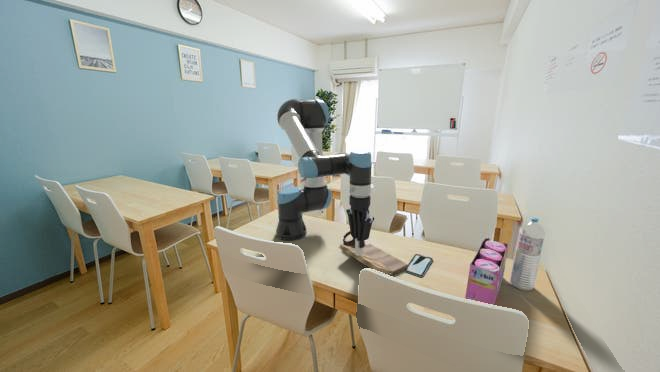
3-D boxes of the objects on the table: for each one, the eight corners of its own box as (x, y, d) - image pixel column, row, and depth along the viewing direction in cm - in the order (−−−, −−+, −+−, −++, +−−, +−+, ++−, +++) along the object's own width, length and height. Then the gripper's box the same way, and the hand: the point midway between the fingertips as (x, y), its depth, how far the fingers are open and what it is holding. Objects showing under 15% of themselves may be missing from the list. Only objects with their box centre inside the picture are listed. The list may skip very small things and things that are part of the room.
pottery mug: (367, 252, 118) (359, 239, 114) (348, 259, 121) (339, 246, 117) (366, 234, 128) (358, 221, 125) (348, 240, 131) (340, 228, 128)
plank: (339, 247, 110) (340, 244, 110) (355, 252, 116) (356, 248, 116) (375, 271, 94) (377, 267, 94) (392, 275, 100) (393, 271, 100)
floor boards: (356, 252, 117) (356, 249, 116) (369, 246, 121) (369, 243, 121) (393, 275, 100) (393, 271, 100) (407, 267, 105) (407, 264, 104)
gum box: (480, 268, 104) (485, 236, 101) (504, 275, 99) (510, 242, 96) (464, 301, 86) (469, 263, 83) (492, 312, 82) (499, 273, 78)
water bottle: (505, 280, 97) (517, 215, 90) (522, 278, 97) (536, 214, 91) (519, 292, 90) (533, 223, 83) (538, 291, 91) (554, 222, 84)
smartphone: (403, 270, 102) (415, 253, 114) (402, 273, 103) (415, 255, 114) (422, 277, 98) (433, 258, 110) (422, 279, 99) (433, 260, 110)
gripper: (340, 192, 99) (340, 250, 105) (364, 201, 89) (363, 264, 95) (356, 189, 103) (355, 244, 109) (380, 197, 93) (378, 258, 99)
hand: (359, 254), depth 102 cm, fingers closed
